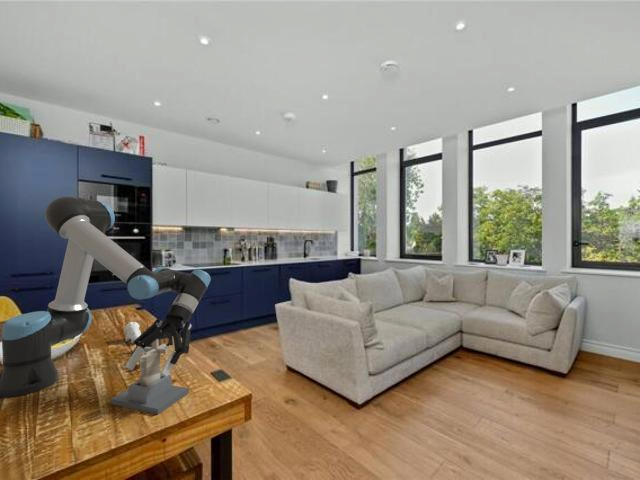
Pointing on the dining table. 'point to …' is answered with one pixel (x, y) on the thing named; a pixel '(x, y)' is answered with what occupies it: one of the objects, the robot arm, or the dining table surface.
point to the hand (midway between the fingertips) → (145, 371)
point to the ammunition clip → (162, 339)
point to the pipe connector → (156, 348)
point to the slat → (149, 368)
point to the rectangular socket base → (150, 395)
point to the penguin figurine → (132, 331)
